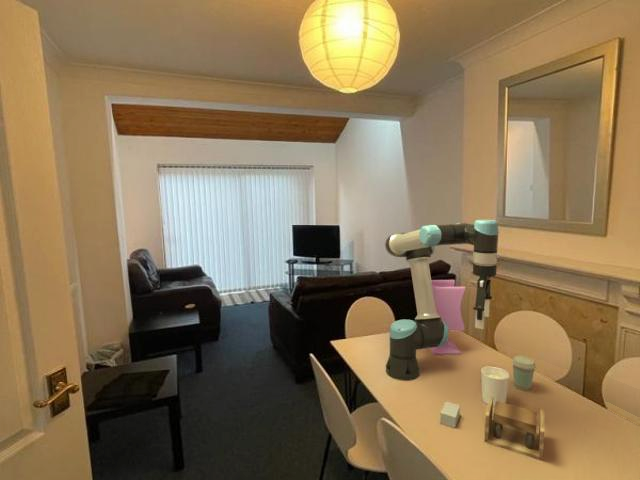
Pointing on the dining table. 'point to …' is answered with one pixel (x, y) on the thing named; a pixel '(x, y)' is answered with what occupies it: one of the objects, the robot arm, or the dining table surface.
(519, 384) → the coffee cup
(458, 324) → the vase
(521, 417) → the board
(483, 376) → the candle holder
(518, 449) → the peg frame
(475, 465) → the dining table surface
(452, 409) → the block
